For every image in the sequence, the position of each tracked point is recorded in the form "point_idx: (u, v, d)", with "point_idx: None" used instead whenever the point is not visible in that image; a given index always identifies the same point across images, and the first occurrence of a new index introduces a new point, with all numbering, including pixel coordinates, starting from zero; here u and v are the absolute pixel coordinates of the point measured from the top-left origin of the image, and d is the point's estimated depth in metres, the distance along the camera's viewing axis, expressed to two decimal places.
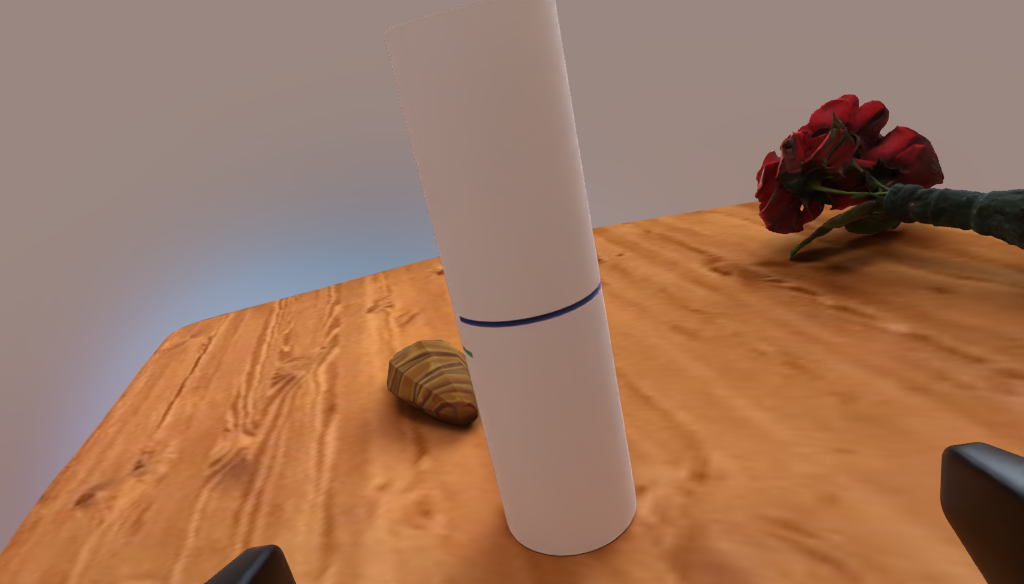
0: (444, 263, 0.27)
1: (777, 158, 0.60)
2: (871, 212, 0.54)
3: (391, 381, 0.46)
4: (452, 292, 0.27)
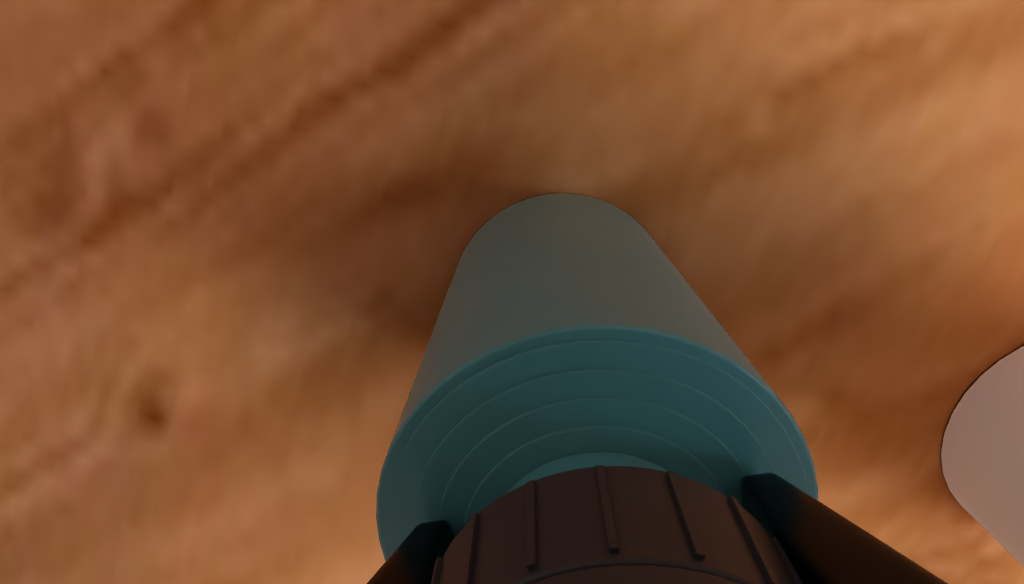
0: None
1: None
2: None
3: None
4: None
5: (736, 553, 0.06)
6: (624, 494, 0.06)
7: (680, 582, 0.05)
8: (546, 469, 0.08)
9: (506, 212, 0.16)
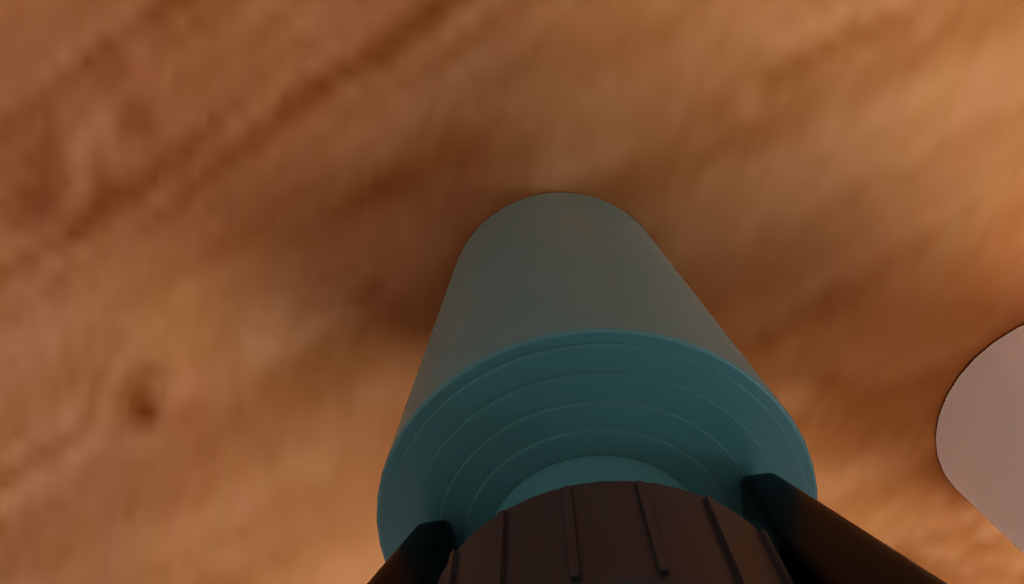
0: None
1: None
2: None
3: None
4: None
5: None
6: None
7: None
8: (546, 473, 0.08)
9: (504, 212, 0.16)
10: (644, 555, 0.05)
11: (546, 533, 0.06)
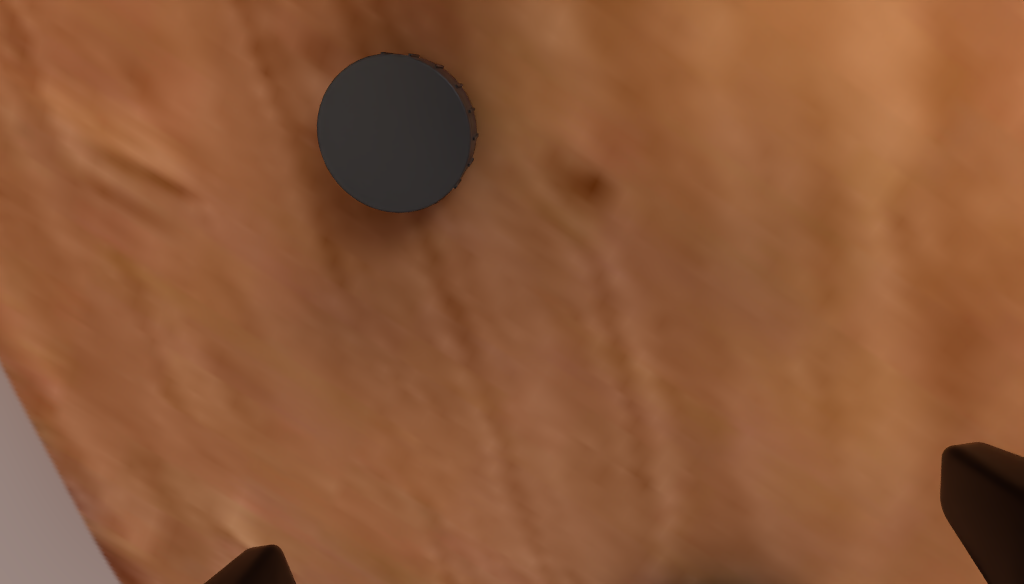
0: None
1: None
2: None
3: None
4: None
5: (473, 127, 0.17)
6: (462, 94, 0.17)
7: (463, 104, 0.16)
8: None
9: None
10: None
11: None
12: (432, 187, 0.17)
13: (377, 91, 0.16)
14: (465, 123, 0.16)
